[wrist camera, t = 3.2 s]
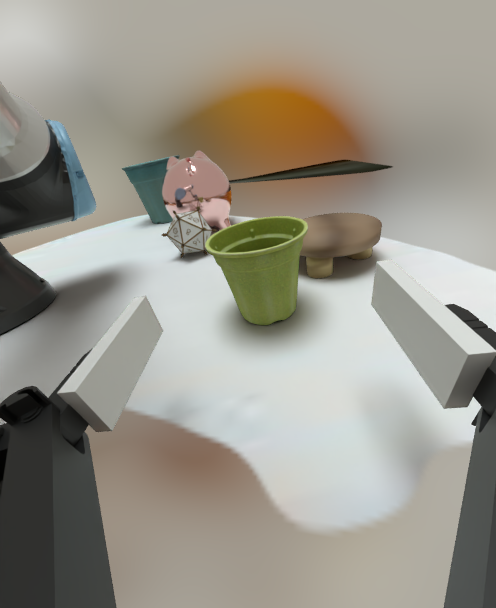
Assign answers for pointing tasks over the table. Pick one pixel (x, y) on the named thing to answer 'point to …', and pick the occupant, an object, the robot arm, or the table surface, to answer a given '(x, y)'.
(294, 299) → the plant pot
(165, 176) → the piggy bank
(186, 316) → the table surface
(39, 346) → the table surface
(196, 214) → the game die
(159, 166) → the flower pot
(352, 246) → the stand
